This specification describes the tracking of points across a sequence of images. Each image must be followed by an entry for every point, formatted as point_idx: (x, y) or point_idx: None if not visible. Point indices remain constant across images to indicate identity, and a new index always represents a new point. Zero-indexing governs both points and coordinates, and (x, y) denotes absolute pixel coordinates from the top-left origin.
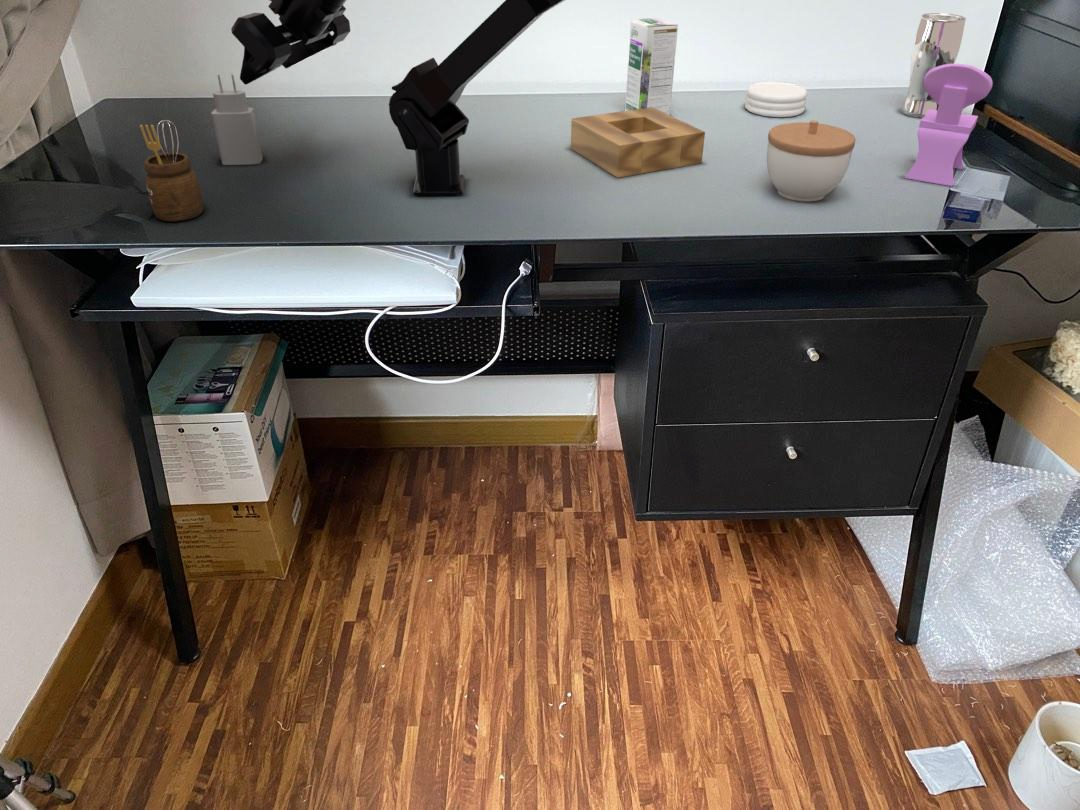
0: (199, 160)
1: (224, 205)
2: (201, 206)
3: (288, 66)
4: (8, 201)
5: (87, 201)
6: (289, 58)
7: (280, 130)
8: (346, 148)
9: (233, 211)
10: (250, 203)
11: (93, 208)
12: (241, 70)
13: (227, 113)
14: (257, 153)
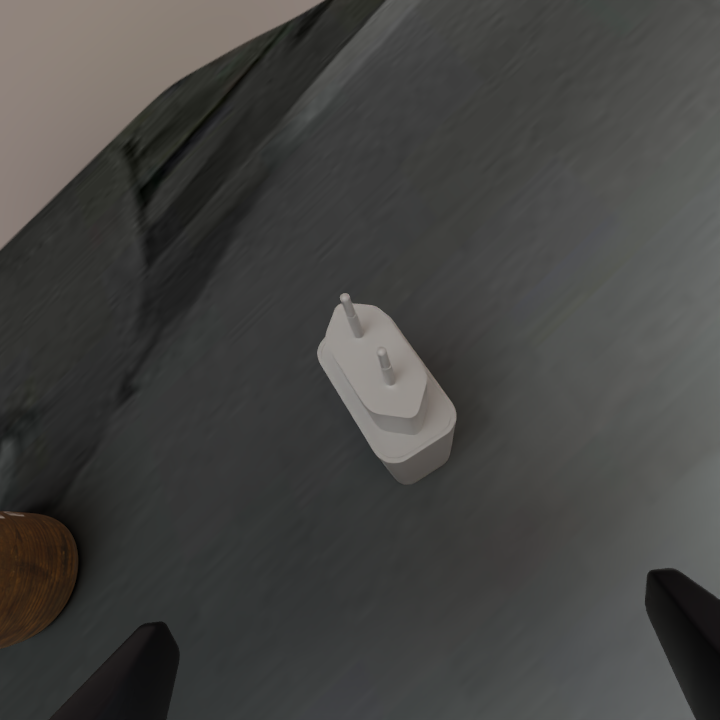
0: None
1: (104, 643)
2: (20, 641)
3: (663, 645)
4: (35, 215)
5: (61, 327)
6: (708, 691)
7: (681, 316)
8: None
9: None
10: None
11: (30, 368)
12: (69, 702)
13: (345, 393)
14: (406, 481)
